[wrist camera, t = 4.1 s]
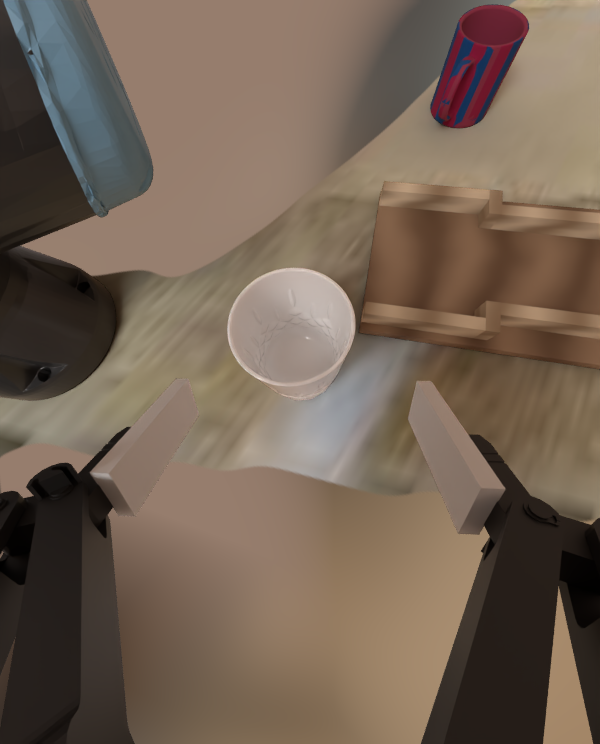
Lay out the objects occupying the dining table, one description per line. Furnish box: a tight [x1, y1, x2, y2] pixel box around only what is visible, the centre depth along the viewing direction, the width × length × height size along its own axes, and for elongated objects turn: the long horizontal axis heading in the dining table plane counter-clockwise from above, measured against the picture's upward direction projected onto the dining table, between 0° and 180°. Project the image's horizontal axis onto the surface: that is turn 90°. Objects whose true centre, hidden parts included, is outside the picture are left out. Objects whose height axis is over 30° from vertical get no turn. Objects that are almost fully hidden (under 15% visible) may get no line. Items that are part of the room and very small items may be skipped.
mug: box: [430, 5, 529, 128], centre depth 29 cm, size 7×10×7 cm
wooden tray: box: [359, 181, 600, 369], centre depth 25 cm, size 24×17×3 cm
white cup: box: [227, 268, 356, 400], centre depth 20 cm, size 8×8×10 cm
